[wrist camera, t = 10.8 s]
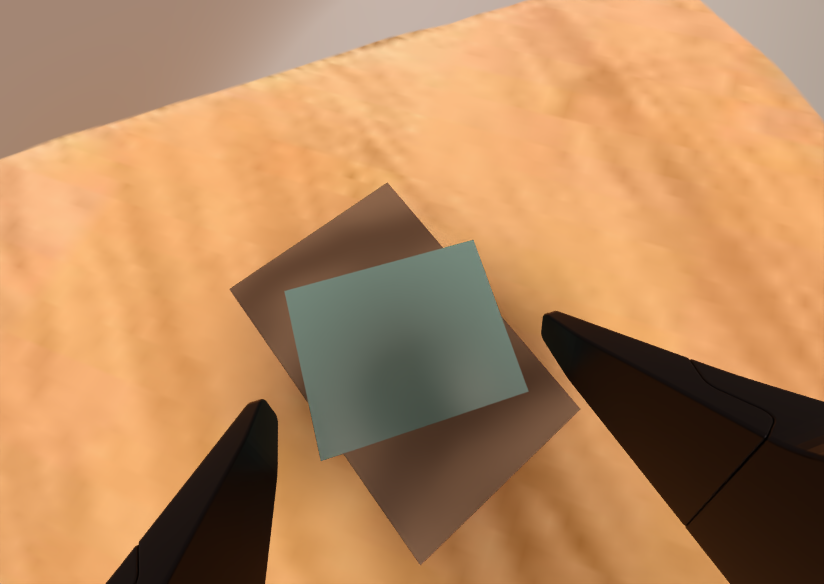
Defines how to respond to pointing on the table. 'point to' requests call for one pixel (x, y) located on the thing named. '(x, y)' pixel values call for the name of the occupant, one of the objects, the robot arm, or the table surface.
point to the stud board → (430, 445)
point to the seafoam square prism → (401, 347)
